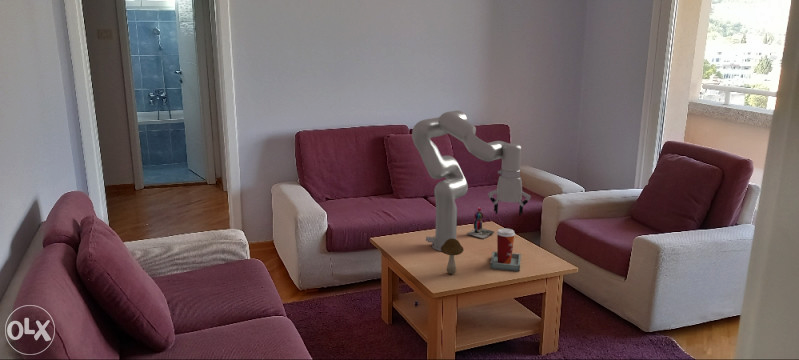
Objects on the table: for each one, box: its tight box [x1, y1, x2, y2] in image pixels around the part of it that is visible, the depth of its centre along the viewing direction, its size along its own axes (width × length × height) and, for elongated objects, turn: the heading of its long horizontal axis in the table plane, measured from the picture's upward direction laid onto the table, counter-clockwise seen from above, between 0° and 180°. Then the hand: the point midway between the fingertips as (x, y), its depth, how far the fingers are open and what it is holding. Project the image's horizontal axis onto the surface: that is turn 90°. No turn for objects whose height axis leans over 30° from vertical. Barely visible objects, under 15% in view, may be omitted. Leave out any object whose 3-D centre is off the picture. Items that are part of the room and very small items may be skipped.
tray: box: [489, 251, 522, 272], centre depth 249 cm, size 12×14×2 cm
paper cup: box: [496, 228, 516, 264], centre depth 247 cm, size 8×8×14 cm
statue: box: [466, 206, 495, 240], centre depth 284 cm, size 11×9×15 cm
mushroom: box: [440, 238, 465, 275], centre depth 237 cm, size 9×11×15 cm
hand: (508, 213), depth 244 cm, fingers open, 9 cm apart
